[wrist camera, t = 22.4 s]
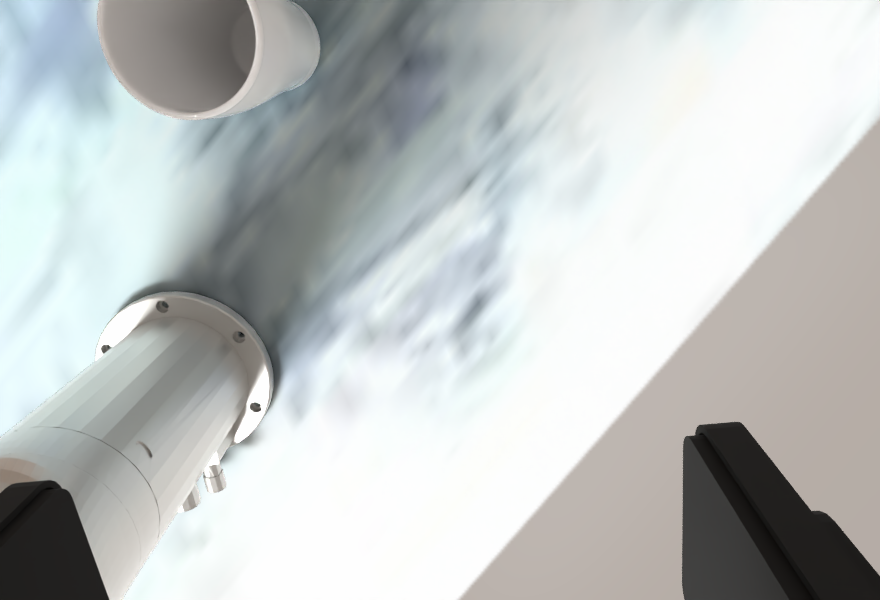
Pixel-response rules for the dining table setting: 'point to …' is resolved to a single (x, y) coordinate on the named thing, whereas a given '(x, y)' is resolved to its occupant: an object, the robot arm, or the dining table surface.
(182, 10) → the drinking glass
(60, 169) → the dining table surface
